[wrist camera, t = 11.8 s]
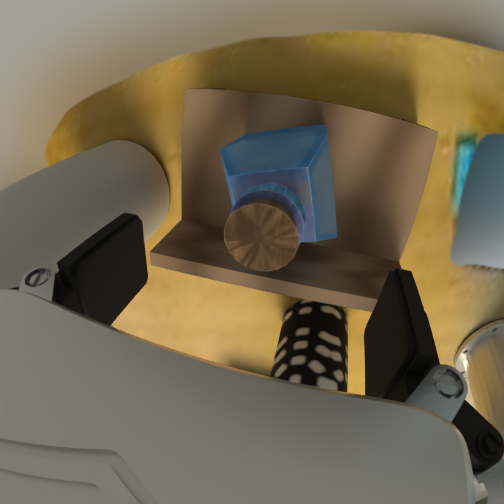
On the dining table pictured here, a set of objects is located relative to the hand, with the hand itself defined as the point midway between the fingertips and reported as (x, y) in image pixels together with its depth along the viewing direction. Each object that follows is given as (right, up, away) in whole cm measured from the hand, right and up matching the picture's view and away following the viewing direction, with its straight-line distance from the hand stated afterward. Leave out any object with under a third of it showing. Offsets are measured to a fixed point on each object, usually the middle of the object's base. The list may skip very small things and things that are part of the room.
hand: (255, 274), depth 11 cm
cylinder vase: (-15, +8, +23) cm, 29 cm away
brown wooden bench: (+5, +9, +17) cm, 20 cm away
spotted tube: (+8, -8, +27) cm, 29 cm away
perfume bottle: (+3, +7, +12) cm, 14 cm away
